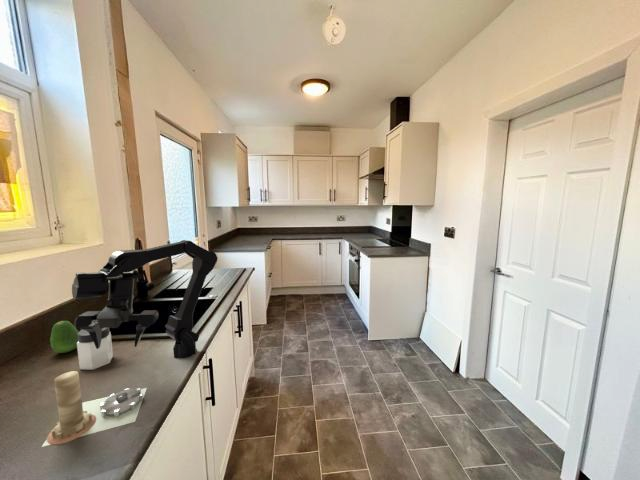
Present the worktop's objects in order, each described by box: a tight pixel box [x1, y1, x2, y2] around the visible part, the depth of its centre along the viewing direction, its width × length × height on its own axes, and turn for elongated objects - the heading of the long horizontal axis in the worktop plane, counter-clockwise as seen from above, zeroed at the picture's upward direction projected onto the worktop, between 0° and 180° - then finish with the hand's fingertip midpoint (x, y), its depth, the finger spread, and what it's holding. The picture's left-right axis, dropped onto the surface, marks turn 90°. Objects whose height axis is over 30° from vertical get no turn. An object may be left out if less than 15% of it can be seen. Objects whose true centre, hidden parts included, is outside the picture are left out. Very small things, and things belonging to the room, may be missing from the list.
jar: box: [76, 328, 114, 371], centre depth 88 cm, size 9×8×12 cm
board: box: [41, 387, 148, 448], centre depth 65 cm, size 17×14×1 cm
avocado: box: [49, 320, 79, 354], centre depth 95 cm, size 8×8×12 cm
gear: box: [100, 387, 144, 418], centre depth 68 cm, size 9×9×2 cm
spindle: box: [51, 370, 92, 441], centre depth 60 cm, size 7×7×13 cm
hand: (117, 347), depth 75 cm, fingers open, 9 cm apart
